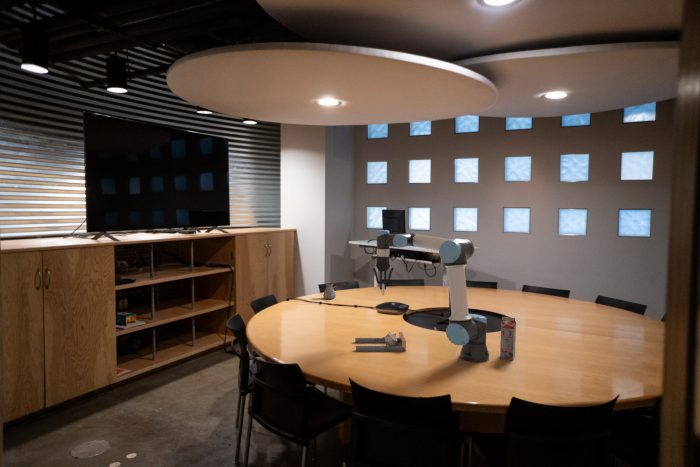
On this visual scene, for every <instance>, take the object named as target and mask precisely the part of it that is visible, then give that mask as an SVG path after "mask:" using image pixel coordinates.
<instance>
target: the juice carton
mask: <svg viewBox="0 0 700 467" xmlns="http://www.w3.org/2000/svg"><path fill="white" fill-rule="evenodd" d="M501 317H502V318H501V322H500V348H499V349H500V351H499V355H500V356H499V358H500V359H501V360H502V359H503V360H509V361H510V360H511V361H514V360H515V358H516V341H517V339H516V337H517V336H516V335H517V322H516V318H515V317H510V316H501Z"/></svg>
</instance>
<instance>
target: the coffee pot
mask: <svg viewBox="0 0 700 467" xmlns="http://www.w3.org/2000/svg"><path fill="white" fill-rule="evenodd" d="M325 285H326V288H325V289H324V291H323V295H322V297H323V298H324V299H325V300H334V299H335V298H336V296H337V294H336V292H335V290H334V289H335V288H337V287H340V286H342V285H344V286H346V283H345V282H343V283H339V284H337V285H336V286H333V285H334V283H330V282H329V283H326V284H325Z"/></svg>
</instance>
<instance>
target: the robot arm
mask: <svg viewBox="0 0 700 467" xmlns="http://www.w3.org/2000/svg"><path fill="white" fill-rule="evenodd" d="M391 247H393V248H398V249H399V248H405V247H415V248H419V249H426V250H433V251H438V256H439V258H440V260H441V261H442V262H443V265H444V267H445V268H446V270H447V276H448V290H449V302H450V310H451V311H450V312H451V315H450V316H449V317H448V325H447V326H446V328H445V334H446V337H447V339H448V340H449V342H450V343H451V344H453V345H455V346H461V348H460V351H459V353H460V354H459V357H460V358H461V359H463V360H465V361H468V362H469V361H470V362H474V363H482V362H488V361H489V360H490V353H489V350H488V345H487V324H488V321H487V317H486V316H483V315H480V314H475V313H473V314H472V313H469V306H468V305H469V303H468V294H467V281H466V280H467V279H466V270H465V268H466V267H467V265H468V260H470V258H472V257H473V256H474V254H475V245H474V243H473V242H472V241H471V240H469V239H468V238H457V237H454V238H453V239H452V238H445V237H444V238H443V237H439V236H431V235H425V234H424V235H423V234H418V233H416V232H415V233H414V232H409V233H407V232H406V233H390V230H388V229H379V230H377V231H376V255H377V256H376V264H375V266H372V271H373V272H374V276H375V280H376V283H377V284H379V290H380V291H381V296H385V290H387V284H390V281H391V278H392V273H393V271H394V269H395V268H394V267H393V266H391V264H390V248H391ZM377 270H378V272H379V276H378V273H377ZM388 271H389V272H388ZM387 272H388V276H387Z"/></svg>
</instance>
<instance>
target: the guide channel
mask: <svg viewBox="0 0 700 467" xmlns="http://www.w3.org/2000/svg"><path fill="white" fill-rule="evenodd" d="M354 340H355V341H354V343H355V344H386V342H385V340H384V338H383V337H355V339H354ZM397 340H398V341H399V342H397V343H396V344H399V345H394V346H389V345H387V346H386V345H355V352H406V351H407V348H406V347H407V346H406V345H407V343H406V342H407V340H406V338H405V335H404V334H403V332H402V331H398V337H397Z"/></svg>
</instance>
